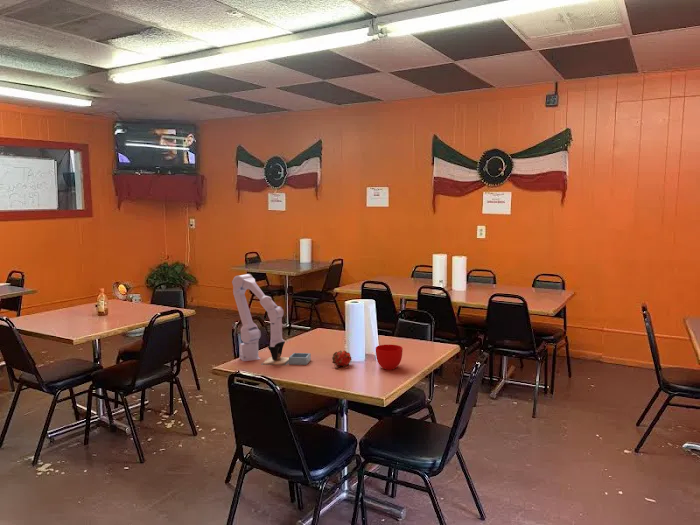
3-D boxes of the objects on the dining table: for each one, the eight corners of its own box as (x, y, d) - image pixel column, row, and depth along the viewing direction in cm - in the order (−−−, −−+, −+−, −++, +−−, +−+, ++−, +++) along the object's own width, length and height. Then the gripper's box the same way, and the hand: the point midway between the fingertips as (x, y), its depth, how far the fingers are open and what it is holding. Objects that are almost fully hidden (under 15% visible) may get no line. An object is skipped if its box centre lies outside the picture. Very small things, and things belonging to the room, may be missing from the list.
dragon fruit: (331, 371, 264) (348, 370, 272) (341, 363, 259) (359, 362, 267) (325, 355, 267) (343, 354, 276) (336, 347, 262) (353, 347, 271)
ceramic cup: (410, 364, 269) (410, 344, 268) (395, 373, 254) (395, 352, 253) (386, 361, 275) (386, 341, 274) (370, 369, 261) (370, 349, 260)
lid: (263, 364, 271) (262, 356, 270) (269, 358, 282) (269, 351, 281) (284, 364, 269) (284, 357, 269) (290, 358, 280) (290, 351, 280)
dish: (288, 365, 270) (288, 357, 269) (293, 360, 279) (293, 352, 278) (306, 365, 268) (306, 357, 268) (310, 361, 277) (310, 353, 277)
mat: (260, 365, 270) (260, 364, 270) (268, 358, 283) (268, 357, 283) (286, 366, 268) (285, 365, 268) (292, 359, 281) (292, 358, 281)
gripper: (279, 334, 266) (280, 361, 267) (287, 328, 280) (288, 354, 282) (266, 334, 267) (266, 361, 268) (274, 328, 282) (275, 353, 283)
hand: (276, 357), depth 275 cm, fingers open, 7 cm apart
